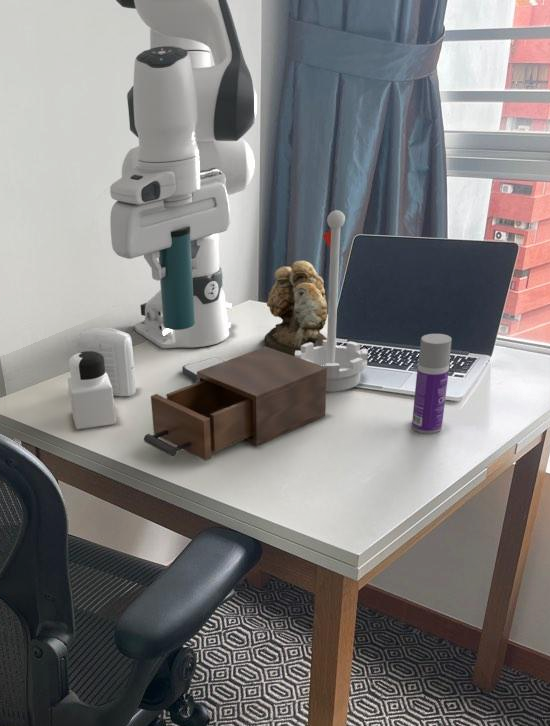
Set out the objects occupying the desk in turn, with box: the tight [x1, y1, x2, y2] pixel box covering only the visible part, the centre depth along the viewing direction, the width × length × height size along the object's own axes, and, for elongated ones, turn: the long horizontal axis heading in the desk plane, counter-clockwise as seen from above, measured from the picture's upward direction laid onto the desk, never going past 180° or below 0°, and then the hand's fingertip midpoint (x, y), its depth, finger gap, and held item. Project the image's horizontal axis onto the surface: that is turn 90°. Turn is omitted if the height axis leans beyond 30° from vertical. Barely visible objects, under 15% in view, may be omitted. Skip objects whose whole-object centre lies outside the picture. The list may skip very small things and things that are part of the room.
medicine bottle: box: [67, 351, 117, 430], centre depth 145 cm, size 7×7×12 cm
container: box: [411, 333, 453, 435], centre depth 131 cm, size 5×5×15 cm
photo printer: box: [78, 327, 137, 397], centre depth 155 cm, size 10×4×12 cm, turn 69°
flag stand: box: [295, 209, 369, 392], centre depth 147 cm, size 13×13×30 cm
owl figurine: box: [263, 260, 328, 356], centre depth 166 cm, size 18×12×17 cm, turn 26°
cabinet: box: [196, 345, 327, 447], centre depth 141 cm, size 16×15×9 cm
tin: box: [158, 226, 195, 330], centre depth 128 cm, size 5×5×15 cm
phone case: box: [181, 356, 226, 382], centre depth 159 cm, size 9×2×16 cm
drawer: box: [143, 380, 253, 462], centre depth 135 cm, size 19×14×7 cm
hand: (175, 273), depth 128 cm, fingers closed on tin, 5 cm apart
